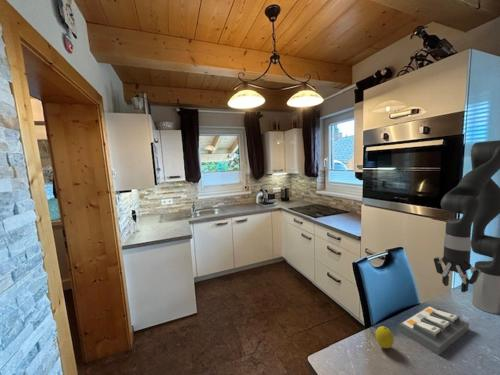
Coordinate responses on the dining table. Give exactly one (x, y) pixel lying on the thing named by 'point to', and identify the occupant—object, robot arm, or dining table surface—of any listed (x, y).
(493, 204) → the robot arm
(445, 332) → the switch unit
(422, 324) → the switch
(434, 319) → the switch mid
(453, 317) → the switch
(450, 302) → the dining table surface
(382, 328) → the lemon
